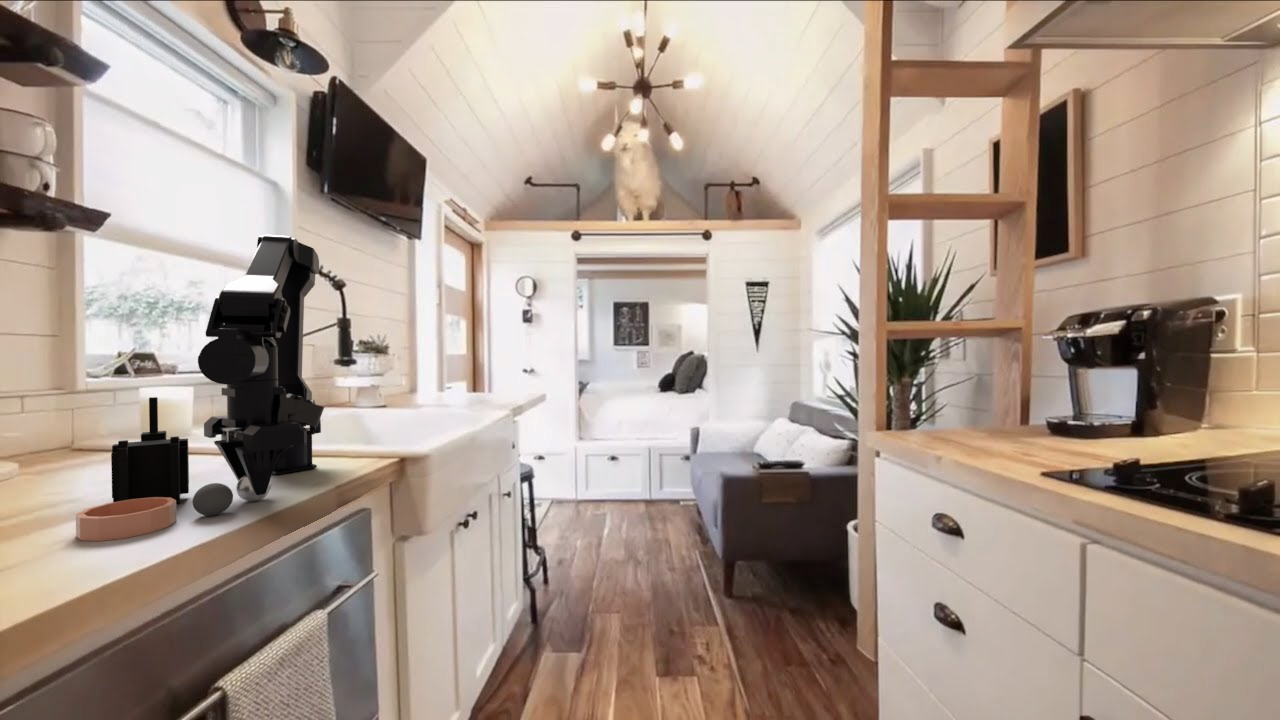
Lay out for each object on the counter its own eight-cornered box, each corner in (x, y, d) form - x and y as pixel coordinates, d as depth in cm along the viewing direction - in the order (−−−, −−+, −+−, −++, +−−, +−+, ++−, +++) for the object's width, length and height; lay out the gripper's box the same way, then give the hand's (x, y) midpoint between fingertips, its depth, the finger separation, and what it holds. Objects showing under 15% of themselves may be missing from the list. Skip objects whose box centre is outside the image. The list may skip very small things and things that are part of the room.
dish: (163, 512, 68) (163, 493, 68) (184, 525, 63) (184, 504, 63) (70, 531, 61) (70, 509, 61) (86, 546, 56) (85, 523, 56)
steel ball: (265, 495, 76) (264, 467, 76) (277, 499, 74) (276, 471, 74) (231, 501, 73) (231, 473, 73) (243, 506, 70) (242, 477, 70)
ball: (226, 508, 70) (226, 478, 70) (238, 513, 67) (237, 482, 67) (188, 516, 66) (187, 484, 66) (199, 522, 64) (198, 489, 64)
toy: (107, 403, 66) (118, 398, 74) (109, 515, 67) (120, 498, 74) (185, 400, 71) (188, 395, 79) (187, 504, 71) (190, 489, 79)
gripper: (346, 379, 74) (347, 489, 74) (288, 375, 85) (289, 471, 85) (253, 383, 65) (255, 509, 65) (201, 378, 76) (203, 486, 76)
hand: (254, 492), depth 73 cm, fingers closed on steel ball, 4 cm apart
